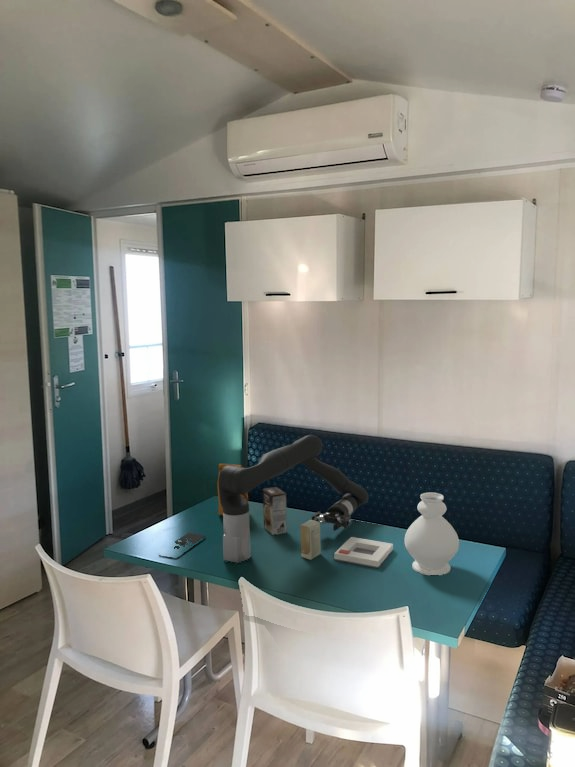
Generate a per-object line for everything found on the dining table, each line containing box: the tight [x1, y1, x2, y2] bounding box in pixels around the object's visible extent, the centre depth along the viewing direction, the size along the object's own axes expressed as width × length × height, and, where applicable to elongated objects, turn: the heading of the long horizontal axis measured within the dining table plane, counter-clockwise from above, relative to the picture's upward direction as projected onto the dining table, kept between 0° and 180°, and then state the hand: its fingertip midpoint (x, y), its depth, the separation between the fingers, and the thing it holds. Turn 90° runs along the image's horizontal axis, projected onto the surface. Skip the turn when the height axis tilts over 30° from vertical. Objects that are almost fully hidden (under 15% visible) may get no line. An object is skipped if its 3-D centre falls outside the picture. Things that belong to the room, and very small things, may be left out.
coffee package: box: [216, 463, 249, 516], centre depth 268 cm, size 10×12×22 cm
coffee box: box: [262, 486, 288, 536], centre depth 250 cm, size 9×6×16 cm
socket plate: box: [333, 536, 394, 569], centre depth 226 cm, size 16×16×3 cm
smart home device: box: [174, 532, 206, 549], centre depth 238 cm, size 8×2×20 cm
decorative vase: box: [404, 491, 460, 576], centre depth 213 cm, size 18×18×25 cm
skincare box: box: [300, 519, 322, 561], centre depth 226 cm, size 6×4×12 cm
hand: (323, 526), depth 236 cm, fingers open, 8 cm apart
